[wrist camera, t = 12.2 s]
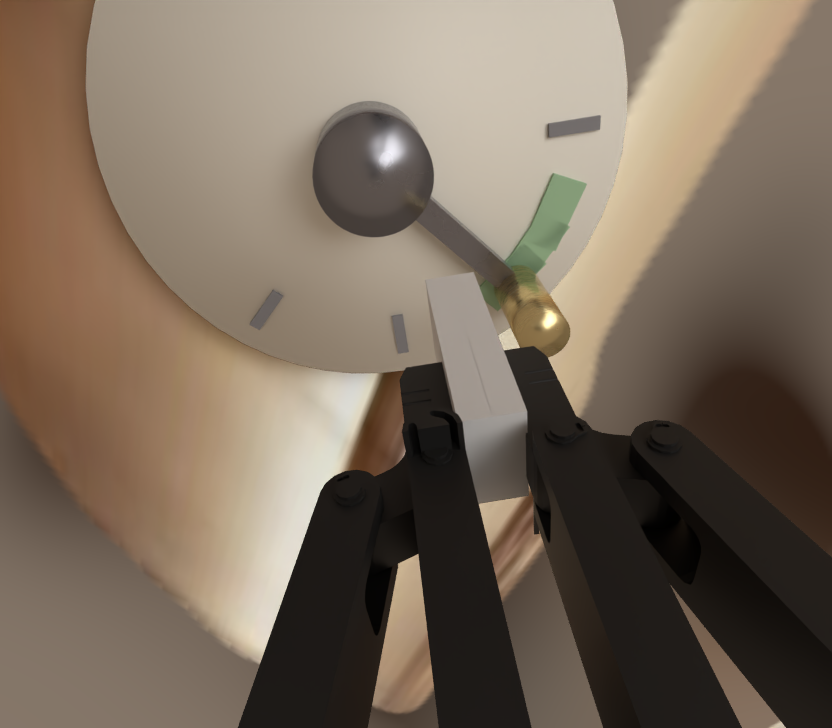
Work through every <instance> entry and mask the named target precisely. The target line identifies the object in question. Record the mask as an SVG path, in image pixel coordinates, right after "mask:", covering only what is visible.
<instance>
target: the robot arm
mask: <svg viewBox="0 0 832 728" xmlns="http://www.w3.org/2000/svg"><path fill="white" fill-rule="evenodd" d="M425 282H426V290H427V297H428V304H429V312H430V319H431V327H432V334H433V342H434V349H435V355H436V360H437V363H431V364H425V365H419V366H413V367H406V368H405V370H404V372H403V374H402V376H401V379H400V388H401V396H402V405H403V414H404V424H403V430H402V434H403V439H404V444H405V449H406V452H405V455H404V457H403V458H402V460H401V461H400V462H399V463H398V464H397V465H396V466H394V467H393V468H391V469H390V470H388V471H386V472H384V473H382V474H379V475H377V476H373V475H371V474H370V473H368V472H366V471H360V470H351V471H345V472H342V473H340V474H338V475H335V476H334V477H333V478H331V479H330V480H329V481H328V482H327V483H326V484H325V485H324V487H323V489H322V490H321V492H320V495H319V497H318V500H317V503H316V506H315V509H314V512H313V515H312V517H311V520H310V523H309V526H308V529H307V532H306V535H305V537H304V540H303V543H302V546H301V549H300V552H299V555H298V557H297V560H296V563H295V566H294V569H293V572H292V575H291V577H290V580H289V583H288V586H287V589H286V592H285V595H284V597H283V600H282V603H281V606H280V609H279V612H278V615H277V617H276V620H275V623H274V626H273V629H272V632H271V635H270V637H269V640H268V643H267V646H266V649H265V652H264V655H263V657H262V660H261V663H260V666H259V669H258V672H257V675H256V678H255V680H254V683H253V686H252V689H251V692H250V695H249V697H248V700H247V704H246V706H245V709H244V712H243V715H242V717H241V720H240V723H239V726H238V728H368V723H369V718H370V712H371V707H372V702H373V697H374V691H375V686H376V681H377V675H378V670H379V665H380V660H381V654H382V649H383V644H384V638H385V633H386V628H387V622H388V617H389V612H390V606H391V601H392V596H393V591H394V585H395V580H396V575H397V569H398V563H400V562H402V561H404V560H406V559H408V558H411V557H413V556H415V555H417V554H419V562H420V571H421V579H422V588H423V596H424V605H425V614H426V622H427V631H428V639H429V648H430V656H431V665H432V673H433V682H434V690H435V699H436V707H437V716H438V724H439V728H531V724H530V719H529V715H528V711H527V707H526V703H525V698H524V694H523V690H522V686H521V681H520V677H519V673H518V669H517V665H516V661H515V656H514V652H513V648H512V643H511V639H510V635H509V631H508V627H507V622H506V618H505V614H504V610H503V605H502V601H501V597H500V593H499V588H498V584H497V580H496V576H495V571H494V567H493V563H492V559H491V555H490V550H489V546H488V542H487V538H486V533H485V529H484V525H483V521H482V516H481V512H480V508H479V504H480V503H486V502H492V501H498V500H504V499H511V498H517V497H523V496H529V487H528V483H529V486H530V489H531V492H532V495H533V503H534V535H535V534H539V531H540V534H541V537H542V540H543V543H544V546H545V549H546V552H547V555H548V558H549V561H550V564H551V567H552V571H553V574H554V576H555V580H556V583H557V586H558V589H559V592H560V595H561V598H562V602H563V605H564V608H565V611H566V614H567V617H568V620H569V623H570V626H571V629H572V633H573V635H574V639H575V642H576V645H577V648H578V651H579V654H580V657H581V660H582V663H583V667H584V669H585V673H586V676H587V679H588V682H589V685H590V688H591V691H592V694H593V697H594V700H595V704H596V707H597V710H598V712H599V716H600V719H601V722H602V725H603V728H742V727H741V725H740V723H739V721H738V719H737V717H736V715H735V713H734V711H733V709H732V707H731V705H730V703H729V701H728V699H727V697H726V695H725V693H724V691H723V689H722V687H721V685H720V683H719V681H718V679H717V677H716V675H715V673H714V671H713V669H712V667H711V666H710V663H709V661H708V659H707V657H706V655H705V653H704V652H703V649H702V647H701V645H700V643H699V642H698V640H697V638H696V635H695V634H694V632H693V630H692V627H691V626H690V624H689V622H688V620H687V618H686V616H685V614H684V612H683V610H682V608H681V606H680V604H679V602H678V600H677V598H676V596H675V594H674V592H673V590H672V588H671V586H672V587H673V588H674V589H675V591H676V592H677V593H678V594H679V596H680V597H681V598H682V599H683V600H684V602H685V603H686V604H687V606H688V607H689V608H690V609H691V610H692V612H693V613H694V614H695V615H696V617H697V618H698V619H699V620H700V622H701V623H702V624H703V625H704V627H705V628H706V629H707V630H708V632H709V633H710V634H711V635H712V637H713V638H714V639H715V640H716V641H717V643H718V644H719V645H720V646H721V648H722V649H723V650H724V651H725V653H726V654H727V655H728V656H729V657H730V659H731V660H732V661H733V662H734V664H735V665H736V666H737V667H738V669H739V670H740V671H741V672H742V674H743V675H744V676H745V677H746V679H747V680H748V681H749V682H750V683H751V684H752V686H753V687H754V688H755V690H756V691H757V692H758V693H759V695H760V696H761V697H762V698H763V700H764V701H765V702H766V703H767V705H768V706H769V707H770V708H771V709H772V711H773V712H774V713H775V714H776V716H777V717H778V718H779V719H780V721H781V722H782V723H783V724H784V726H785V727H786V728H832V557H831V556H830V555H828V554H827V553H826V552H825V551H824V550H823V549H822V548H820V547H819V546H818V545H817V544H816V543H815V542H814V541H813V540H812V539H810V538H809V537H808V536H807V535H806V534H805V533H804V532H803V531H801V530H800V529H799V528H798V527H797V526H796V525H795V524H794V523H792V522H791V521H790V520H789V519H788V518H787V517H786V516H785V515H783V514H782V513H781V512H780V511H779V510H778V509H777V508H776V507H774V506H773V505H772V504H771V503H770V502H769V501H768V500H767V499H765V498H764V497H763V496H762V495H761V494H760V493H759V492H758V491H756V490H755V489H754V488H753V487H752V486H751V485H749V483H747V482H746V481H745V480H744V479H743V478H742V477H741V476H740V475H738V474H737V473H736V472H735V471H734V470H733V469H732V468H731V467H729V466H728V465H727V464H726V463H725V462H724V461H723V460H722V459H720V458H719V457H718V456H717V455H716V454H715V453H714V452H713V451H711V450H710V449H709V448H708V447H707V446H706V445H705V444H704V443H702V442H701V441H700V440H699V439H698V438H697V437H696V436H694V435H693V434H692V433H691V432H690V431H689V430H687V429H685V428H684V427H682V426H681V425H678V424H675V423H672V422H669V421H658V420H654V421H649V422H644V423H642V424H641V425H639V426H637V427H636V428H635V429H634V431H633V433H632V434H631V436H625V435H613V434H606V433H601V432H598V431H595V430H592V429H591V427H590V426H589V425H588V424H587V423H586V422H585V421H584V420H582V419H580V418H578V417H577V416H576V415H575V413H574V411H573V409H572V407H571V405H570V403H569V401H568V399H567V397H566V395H565V392H564V390H563V388H562V386H561V384H560V382H559V380H558V379H557V376H556V374H555V372H554V370H553V368H552V366H551V364H550V362H549V360H548V358H547V356H546V355H545V354H544V353H543V352H541V351H540V350H539V349H537V348H536V347H535V346H530V347H523V348H517V349H511V350H505V351H504V350H503V347H502V345H501V342H500V339H499V337H498V334H497V332H496V329H495V326H494V324H493V321H492V319H491V316H490V313H489V311H488V308H487V306H486V303H485V300H484V298H483V295H482V293H481V290H480V287H479V285H478V282H477V280H476V277H475V275H474V272H470V273H464V274H457V275H451V276H445V277H439V278H432V279H426V280H425ZM669 583H670V584H669ZM670 585H671V586H670Z"/></svg>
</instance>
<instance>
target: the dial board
mask: <svg viewBox="0 0 832 728" xmlns="http://www.w3.org/2000/svg"><path fill="white" fill-rule="evenodd" d="M86 97H87V107H88V117H89V126H90V132H91V136H92V140H93V144H94V149H95V153H96V157H97V162H98V166H99V169H100V171H101V174H102V177H103V179H104V182H105V185H106V188H107V190H108V193H109V196H110V198H111V201H112V203H113V205H114V207H115V209H116V211H117V213H118V215H119V217H120V219H121V221H122V223H123V225H124V226H125V228H126V230H127V232H128V234H129V235H130V237H131V238H132V240H133V241H134V243H135V244H136V246H137V247H138V249H139V250H140V252H141V253H142V255H143V256H144V258H145V259H146V261H147V262H148V263H149V265H150V266H151V267H152V268H153V269H154V270H155V272H156V273H157V274H158V275H159V276H160V278H161V279H162V280H163V281H164V282H165V283H166V285H167V286H168V287H169V288H170V289H171V290H172V291H173V292H174V293H175V294H176V295H178V296H179V297H180V298H181V299H182V300H183V301H184V302H185V303H186V304H187V305H188V306H189V307H190V308H191V309H192V310H194V311H195V312H196V313H198V314H199V315H200V316H202V317H203V318H204V319H206V320H207V321H208V322H210V323H211V324H212V325H214V326H215V327H216V328H218V329H220V330H221V331H223V332H225V333H226V334H228V335H230V336H231V337H233V338H235V339H237V340H238V341H240V342H242V343H243V344H246V345H248V346H250V347H252V348H254V349H257V350H259V351H261V352H263V353H265V354H268V355H270V356H273V357H276V358H279V359H282V360H285V361H288V362H291V363H294V364H297V365H302V366H307V367H311V368H316V369H321V370H326V371H336V372H345V373H385V372H394V371H402V370H405V368H406V367H413V366H419V365H425V364H431V363H437V360H436V355H435V349H434V342H433V334H432V327H431V319H430V312H429V304H428V297H427V290H426V282H425V280H426V279H432V278H439V277H445V276H451V275H457V274H464V273H470V272H474V275H475V277H476V280H477V282H478V285H479V287H480V290H481V293H482V295H483V298H484V300H485V303H486V306H487V308H488V311H489V313H490V316H491V319H492V321H493V324H494V326H495V329H496V332H497V334H498V335H499V334H501V333H502V332H504V331H506V330H507V329H509V328H510V325H509V323H508V321H507V319H506V317H505V315H504V313H503V311H502V309H501V307H500V304H499V302H498V300H497V298H496V296H495V293H494V286H493V285H492V284H491V283H490V282H488V281H487V280H486V279H485V278H484V277H483V276H481V275H480V274H479V273H478V272H477V271H475V270H474V269H473V268H472V267H471V266H470V265H468V264H467V263H466V262H465V261H464V260H462V259H461V258H460V257H459V256H458V255H456V254H455V253H454V252H453V251H452V250H451V249H449V248H448V247H447V246H446V245H445V244H443V243H442V242H441V241H440V240H439V239H438V238H436V237H435V236H434V235H433V234H432V233H430V232H429V231H428V230H427V229H426V228H425V227H423V226H422V225H421V224H420V223H419V222H417V221H414V222H413V223H412V224H411V225H410V226H408V227H407V228H405V229H404V230H402V231H400V232H397V233H395V234H392V235H389V236H384V237H363V236H359V235H355V234H353V233H350V232H348V231H346V230H344V229H342V228H341V227H339V226H338V225H336V224H335V223H334V222H333V221H332V220H331V219H330V218H329V217H328V216H327V215H326V214H325V212H324V211H323V209H322V208H321V206H320V204H319V202H318V200H317V197H316V195H315V191H314V187H313V178H312V174H313V164H314V157H315V151H316V146H317V141H318V138H319V135H320V133H321V131H322V129H323V127H324V126H325V124H326V123H327V121H328V120H329V119H330V118H331V117H332V116H333V115H334V114H335V113H336V112H338V111H339V110H341V109H342V108H344V107H346V106H348V105H350V104H353V103H357V102H363V101H376V102H382V103H386V104H389V105H391V106H393V107H395V108H397V109H398V110H400V111H402V112H403V113H404V114H405V115H407V116H408V117H409V119H410V120H411V121H412V122H413V123H414V125H415V126H416V127H417V129H418V131H419V133H420V135H421V137H422V139H423V141H424V143H425V145H426V147H427V149H428V151H429V154H430V156H431V159H432V163H433V169H434V184H433V190H432V194H431V196H432V197H433V198H434V199H435V200H436V201H438V202H439V203H440V204H441V205H442V206H443V207H444V208H445V209H447V210H448V211H449V212H450V213H451V214H452V215H453V216H455V217H456V218H457V219H458V220H459V221H460V222H461V223H462V224H464V225H465V226H466V227H467V228H468V229H469V230H470V231H472V232H473V233H474V234H475V235H476V236H477V237H478V238H479V239H481V240H482V241H483V242H484V243H485V244H486V245H487V246H488V247H490V248H491V249H492V250H493V251H494V252H495V253H496V254H498V255H499V256H500V257H501V258H502V259H503V260H504V261H505V262H507V263H508V264H509V265H510V266H511V267H512V266H517V265H522V266H526V267H529V268H531V269H532V270H533V271H534V272H535V273H536V275H537V276H538V278H539V279H540V281H541V282H542V284H543V286H544V287H545V289H546V290H547V292H548V293H549V294H550V293H551V292H552V291H553V289H554V288H555V287H556V286H557V285H558V283H559V282H560V281H561V280H562V279H563V278H564V276H565V275H566V274H567V273H568V272H569V270H570V269H571V268H572V266H573V265H574V263H575V262H576V260H577V259H578V257H579V256H580V254H581V253H582V251H583V250H584V248H585V247H586V245H587V244H588V242H589V240H590V238H591V236H592V234H593V232H594V230H595V228H596V226H597V224H598V222H599V221H600V219H601V217H602V214H603V212H604V209H605V206H606V204H607V201H608V199H609V196H610V193H611V191H612V188H613V186H614V182H615V178H616V174H617V170H618V166H619V162H620V158H621V154H622V149H623V141H624V134H625V126H626V119H627V74H626V64H625V55H624V46H623V40H622V36H621V32H620V28H619V23H618V19H617V15H616V11H615V7H614V3H613V0H96V1H95V4H94V9H93V15H92V20H91V26H90V32H89V38H88V44H87V60H86Z"/></svg>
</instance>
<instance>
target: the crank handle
mask: <svg viewBox="0 0 832 728" xmlns="http://www.w3.org/2000/svg"><path fill="white" fill-rule="evenodd" d="M312 178H313V187H314V191H315V195H316V197H317V200H318V202H319V204H320V206H321V208H322V209H323V211H324V212H325V214H326V215H327V216H328V217H329V218H330V219H331V220H332V221H333V222H334V223H335V224H336V225H338V226H339V227H341V228H342V229H344V230H346V231H348V232H350V233H353V234H355V235H359V236H363V237H384V236H389V235H392V234H395V233H397V232H400V231H402V230H404V229H405V228H407V227H408V226H410V225H411V224H412V223H413V222H414V221H417V222H419V223H420V224H421V225H422V226H423V227H425V228H426V229H427V230H428V231H429V232H430V233H432V234H433V235H434V236H435V237H436V238H438V239H439V240H440V241H441V242H442V243H443V244H445V245H446V246H447V247H448V248H449V249H451V250H452V251H453V252H454V253H455V254H456V255H458V256H459V257H460V258H461V259H462V260H464V261H465V262H466V263H467V264H468V265H470V266H471V267H472V268H473V269H474V270H475V271H477V272H478V273H479V274H480V275H481V276H483V277H484V278H485V279H486V280H487V281H488V282H490V283H491V284H492V285H493V286H494V293H495V296H496V298H497V300H498V302H499V304H500V307H501V309H502V311H503V313H504V315H505V317H506V319H507V321H508V323H509V325H510V327H511V329H512V332H513V334H514V336H515V338H516V340H517V342H518V344H519V346H520V348H523V347H530V346H535V347H536V348H537V349H539V350H540V351H541V352H543V353H544V354H545V355H546V356H547V357H550V356H553V355H555V354H557V353H558V352H559V351H561V350H562V349H563V348H564V347H565V345H566V344H567V342H568V340H569V337H570V327H569V324H568V322H567V321H566V319H565V318H564V316H563V315H562V313H561V312H560V310H559V309H558V307H557V305H556V304H555V302H554V301H553V299H552V298H551V296H550V295H549V293H548V292H547V290H546V289H545V287H544V286H543V284H542V282H541V281H540V279H539V278H538V276H537V275H536V273H535V272H534V271H533V270H532V269H531V268H529V267H526V266H522V265H517V266H512V267H511V266H510V265H509V264H508V263H507V262H505V261H504V260H503V259H502V258H501V257H500V256H499V255H498V254H496V253H495V252H494V251H493V250H492V249H491V248H490V247H488V246H487V245H486V244H485V243H484V242H483V241H482V240H481V239H479V238H478V237H477V236H476V235H475V234H474V233H473V232H472V231H470V230H469V229H468V228H467V227H466V226H465V225H464V224H462V223H461V222H460V221H459V220H458V219H457V218H456V217H455V216H453V215H452V214H451V213H450V212H449V211H448V210H447V209H445V208H444V207H443V206H442V205H441V204H440V203H439V202H438V201H436V200H435V199H434V198H433V197H432V196H431V194H432V190H433V184H434V169H433V163H432V159H431V156H430V154H429V151H428V149H427V147H426V145H425V143H424V141H423V139H422V137H421V135H420V133H419V131H418V129H417V127H416V126H415V125H414V123H413V122H412V121H411V120H410V119H409V117H408V116H407V115H405V114H404V113H403V112H402V111H400V110H398V109H397V108H395V107H393V106H391V105H389V104H386V103H382V102H376V101H363V102H357V103H353V104H350V105H348V106H346V107H344V108H342V109H341V110H339V111H338V112H336V113H335V114H334V115H333V116H332V117H331V118H330V119H329V120H328V121H327V123H326V124H325V126H324V127H323V129H322V131H321V133H320V135H319V138H318V141H317V146H316V151H315V157H314V164H313V174H312Z"/></svg>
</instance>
